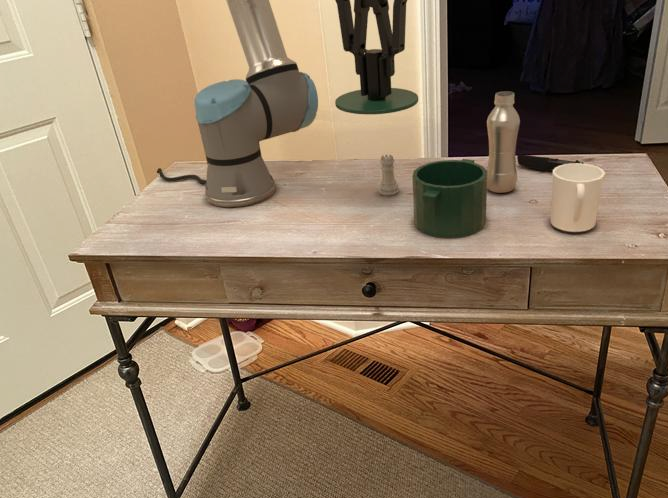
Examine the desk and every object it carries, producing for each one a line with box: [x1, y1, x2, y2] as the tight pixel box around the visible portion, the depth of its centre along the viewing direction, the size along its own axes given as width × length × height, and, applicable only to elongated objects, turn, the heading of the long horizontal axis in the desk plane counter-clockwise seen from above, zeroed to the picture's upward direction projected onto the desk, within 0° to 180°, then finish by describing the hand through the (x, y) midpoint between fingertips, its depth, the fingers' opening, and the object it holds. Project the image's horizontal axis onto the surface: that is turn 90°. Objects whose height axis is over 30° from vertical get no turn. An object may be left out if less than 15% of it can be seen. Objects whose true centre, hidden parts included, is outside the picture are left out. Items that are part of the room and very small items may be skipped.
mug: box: [549, 163, 606, 235], centre depth 110 cm, size 11×9×10 cm
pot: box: [412, 158, 488, 239], centre depth 115 cm, size 14×19×10 cm
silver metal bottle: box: [486, 91, 521, 194], centre depth 124 cm, size 6×7×20 cm
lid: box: [334, 48, 419, 115], centre depth 106 cm, size 15×15×9 cm
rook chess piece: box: [378, 154, 400, 197], centre depth 130 cm, size 4×4×8 cm
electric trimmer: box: [516, 153, 585, 172], centre depth 136 cm, size 4×16×3 cm, turn 58°
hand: (376, 94), depth 108 cm, fingers closed on lid, 3 cm apart
